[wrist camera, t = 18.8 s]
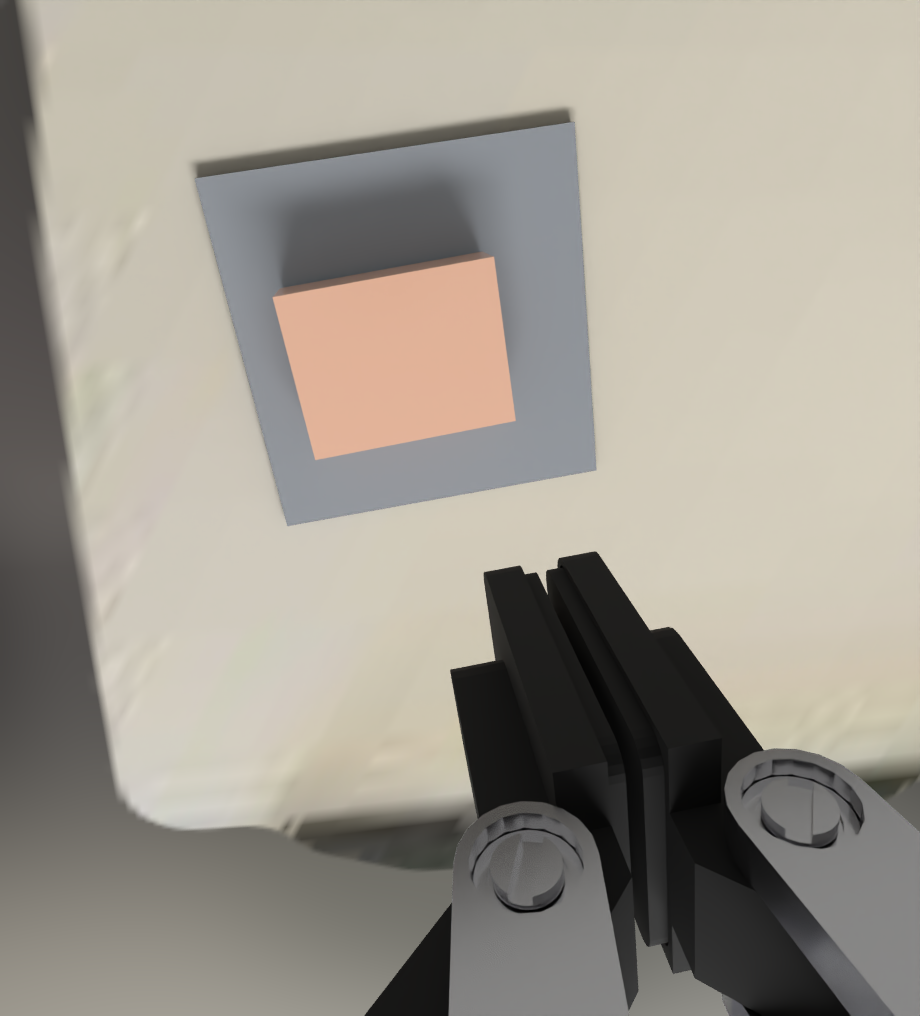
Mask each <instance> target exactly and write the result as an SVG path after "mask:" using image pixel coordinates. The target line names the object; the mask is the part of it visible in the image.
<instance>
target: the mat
mask: <svg viewBox="0 0 920 1016" xmlns="http://www.w3.org/2000/svg"><path fill="white" fill-rule="evenodd" d="M195 182H196V186H197V190H198V193H199V197H200V201H201V205H202V208H203V212H204V216H205V220H206V223H207V227H208V231H209V234H210V238H211V242H212V246H213V249H214V253H215V257H216V261H217V264H218V268H219V272H220V276H221V279H222V283H223V287H224V291H225V294H226V298H227V302H228V306H229V309H230V313H231V317H232V321H233V324H234V328H235V332H236V335H237V339H238V343H239V347H240V350H241V354H242V358H243V362H244V365H245V369H246V373H247V377H248V380H249V384H250V388H251V392H252V395H253V399H254V403H255V407H256V410H257V414H258V418H259V421H260V425H261V429H262V433H263V436H264V440H265V444H266V448H267V451H268V455H269V459H270V463H271V466H272V470H273V474H274V478H275V481H276V485H277V489H278V493H279V496H280V500H281V504H282V508H283V511H284V515H285V519H286V522H287V526H291V525H296V524H302V523H307V522H313V521H318V520H324V519H329V518H335V517H340V516H346V515H352V514H357V513H363V512H368V511H374V510H379V509H385V508H390V507H396V506H401V505H407V504H412V503H418V502H423V501H429V500H434V499H440V498H446V497H451V496H457V495H462V494H468V493H473V492H479V491H484V490H490V489H495V488H501V487H506V486H512V485H517V484H523V483H529V482H534V481H540V480H545V479H551V478H556V477H562V476H567V475H573V474H578V473H584V472H589V471H595V470H596V456H595V440H594V424H593V408H592V393H591V377H590V361H589V345H588V329H587V313H586V297H585V281H584V265H583V250H582V234H581V218H580V202H579V186H578V170H577V154H576V138H575V122H570V123H563V124H556V125H550V126H543V127H536V128H530V129H523V130H516V131H509V132H503V133H496V134H489V135H483V136H476V137H469V138H462V139H456V140H449V141H442V142H436V143H429V144H422V145H415V146H409V147H402V148H395V149H389V150H382V151H375V152H368V153H362V154H355V155H348V156H342V157H335V158H328V159H321V160H315V161H308V162H301V163H295V164H288V165H281V166H274V167H268V168H261V169H254V170H248V171H241V172H234V173H227V174H221V175H214V176H207V177H201V178H195ZM476 252H485V253H487V254H489V255H491V256H494V260H495V268H496V276H497V283H498V291H499V298H500V306H501V313H502V321H503V328H504V336H505V343H506V351H507V359H508V366H509V374H510V381H511V389H512V396H513V404H514V411H515V419H516V421H513V422H508V423H502V424H497V425H492V426H487V427H482V428H477V429H472V430H467V431H462V432H457V433H451V434H446V435H441V436H436V437H431V438H426V439H421V440H416V441H411V442H406V443H400V444H395V445H390V446H385V447H380V448H375V449H370V450H365V451H360V452H355V453H349V454H344V455H339V456H334V457H329V458H324V459H319V460H315V457H314V453H313V450H312V446H311V442H310V438H309V434H308V431H307V427H306V423H305V419H304V415H303V411H302V408H301V404H300V400H299V396H298V392H297V389H296V385H295V381H294V377H293V373H292V370H291V366H290V362H289V358H288V354H287V351H286V347H285V343H284V339H283V335H282V331H281V328H280V324H279V320H278V316H277V312H276V309H275V305H274V301H273V296H274V295H275V294H276V292H277V291H278V290H279V289H280V288H284V287H290V286H295V285H301V284H306V283H312V282H317V281H323V280H328V279H334V278H339V277H345V276H350V275H356V274H361V273H367V272H372V271H378V270H383V269H388V268H394V267H399V266H405V265H410V264H416V263H421V262H427V261H432V260H438V259H443V258H449V257H454V256H460V255H465V254H471V253H476Z"/></svg>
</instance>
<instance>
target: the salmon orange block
mask: <svg viewBox="0 0 920 1016" xmlns="http://www.w3.org/2000/svg"><path fill="white" fill-rule="evenodd" d="M273 301H274V305H275V309H276V312H277V316H278V320H279V324H280V328H281V331H282V335H283V339H284V343H285V347H286V351H287V354H288V358H289V362H290V366H291V370H292V373H293V377H294V381H295V385H296V389H297V392H298V396H299V400H300V404H301V408H302V411H303V415H304V419H305V423H306V427H307V431H308V434H309V438H310V442H311V446H312V450H313V453H314V457H315V460H319V459H324V458H329V457H334V456H339V455H344V454H349V453H355V452H360V451H365V450H370V449H375V448H380V447H385V446H390V445H395V444H400V443H406V442H411V441H416V440H421V439H426V438H431V437H436V436H441V435H446V434H451V433H457V432H462V431H467V430H472V429H477V428H482V427H487V426H492V425H497V424H502V423H508V422H513V421H516V419H515V411H514V404H513V396H512V389H511V381H510V374H509V366H508V359H507V351H506V343H505V336H504V328H503V321H502V313H501V306H500V298H499V291H498V283H497V276H496V268H495V260H494V256H491V255H489V254H487V253H485V252H476V253H471V254H465V255H460V256H454V257H449V258H443V259H438V260H432V261H427V262H421V263H416V264H410V265H405V266H399V267H394V268H388V269H383V270H378V271H372V272H367V273H361V274H356V275H350V276H345V277H339V278H334V279H328V280H323V281H317V282H312V283H306V284H301V285H295V286H290V287H284V288H280V289H279V290H278V291H277V292H276V294H275V295H274V296H273Z"/></svg>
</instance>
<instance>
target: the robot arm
mask: <svg viewBox="0 0 920 1016" xmlns="http://www.w3.org/2000/svg"><path fill="white" fill-rule="evenodd" d="M546 581H547V591H548V595H547V593H546V591H545V589H544V587H543V584H542V582H541V580H540V578H539V576H538V574H537V573H536V572H535V573H530V574H524V572H523V569H522V568H521V566H515V567H509V568H504V569H499V570H494V571H488V572H484V584H485V591H486V598H487V605H488V612H489V619H490V626H491V633H492V640H493V647H494V654H495V660H496V661H492V662H487V663H482V664H477V665H472V666H467V667H462V668H457V669H452V670H450V672H451V678H452V684H453V689H454V695H455V701H456V706H457V712H458V717H459V723H460V728H461V734H462V739H463V745H464V750H465V755H466V761H467V766H468V771H469V777H470V782H471V787H472V792H473V797H474V803H475V808H476V813H477V818H478V819H477V820H476V821H475V822H474V823H473V824H472V825H471V826H470V827H469V828H468V829H467V830H466V832H465V833H464V835H463V837H462V839H461V840H460V842H459V844H458V845H457V849H456V854H455V859H454V864H453V887H452V890H453V891H452V903H451V904H450V906H449V907H448V908H447V910H446V911H445V912H444V914H443V915H442V916H441V917H440V919H439V920H438V921H437V923H436V924H435V925H434V926H433V928H432V929H431V930H430V932H429V933H428V934H427V935H426V937H425V938H424V939H423V941H422V942H421V944H419V946H418V947H417V948H416V950H415V951H414V952H413V954H412V955H411V956H410V958H409V959H408V960H407V961H406V963H405V964H404V965H403V966H402V968H401V969H400V970H399V972H398V973H397V974H396V976H395V977H394V978H393V980H392V981H391V982H390V983H389V985H388V986H387V987H386V988H385V990H384V991H383V992H382V994H381V995H380V996H379V997H378V999H377V1000H376V1001H375V1003H374V1004H373V1005H372V1007H371V1008H370V1009H369V1010H368V1012H367V1013H366V1014H365V1016H629V1009H630V1007H631V1005H632V1003H633V1001H634V999H635V997H636V995H637V993H638V976H637V958H636V940H635V922H634V917H635V920H636V922H637V925H638V928H639V930H640V933H641V935H642V937H643V940H644V942H645V943H646V945H647V946H648V947H650V946H654V945H659V944H661V945H662V948H663V950H664V953H665V955H666V958H667V960H668V963H669V965H670V967H671V970H672V972H673V974H674V973H679V972H683V971H688V970H692V973H693V975H694V977H695V979H697V980H699V981H701V982H703V983H704V984H706V985H708V986H710V987H712V988H714V989H715V990H717V991H719V992H721V994H722V1000H723V1003H724V1006H725V1008H726V1010H727V1012H728V1014H729V1016H920V832H919V831H918V830H917V829H915V828H914V827H913V826H912V825H911V824H910V823H909V822H908V821H907V820H906V819H904V818H903V817H902V816H901V815H900V814H899V813H898V812H897V811H896V810H895V809H894V808H892V807H891V806H890V805H889V804H888V803H887V802H886V801H885V800H884V799H883V798H881V797H880V796H879V795H878V794H877V793H876V792H875V791H874V790H873V789H872V788H870V787H869V786H868V785H867V784H866V783H865V782H864V781H863V780H862V779H861V778H859V777H858V776H856V775H855V774H854V773H852V772H851V771H850V770H848V769H847V768H845V767H844V766H843V765H841V764H839V763H837V762H835V761H832V760H830V759H828V758H826V757H823V756H821V755H819V754H815V753H810V752H806V751H802V750H798V749H769V750H763V748H762V747H761V746H760V744H759V743H758V742H757V740H756V739H755V737H754V736H753V735H752V733H751V732H750V731H749V729H748V728H747V727H746V725H745V724H744V722H743V721H742V720H741V718H740V717H739V716H738V714H737V713H736V712H735V710H734V709H733V707H732V706H731V705H730V703H729V702H728V701H727V699H726V698H725V697H724V695H723V694H722V692H721V691H720V690H719V688H718V687H717V686H716V684H715V683H714V681H713V680H712V679H711V677H710V676H709V675H708V673H707V672H706V671H705V669H704V668H703V666H702V665H701V664H700V662H699V661H698V660H697V658H696V657H695V656H694V654H693V653H692V651H691V650H690V649H689V647H688V646H687V645H686V643H685V642H684V641H683V639H682V638H681V636H680V635H679V634H678V633H677V632H676V631H675V630H674V629H673V628H670V627H666V628H661V629H655V630H649V629H648V627H647V626H646V624H645V623H644V621H643V620H642V618H641V617H640V615H639V614H638V612H637V611H636V609H635V608H634V606H633V605H632V603H631V602H630V600H629V599H628V597H627V596H626V594H625V593H624V591H623V590H622V588H621V587H620V585H619V584H618V582H617V581H616V579H615V578H614V576H613V575H612V573H611V572H610V570H609V569H608V567H607V566H606V565H605V563H604V562H603V560H602V559H601V557H600V556H599V554H598V553H597V552H589V553H584V554H579V555H573V556H568V557H563V558H559V559H558V568H557V569H551V570H547V572H546Z"/></svg>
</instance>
